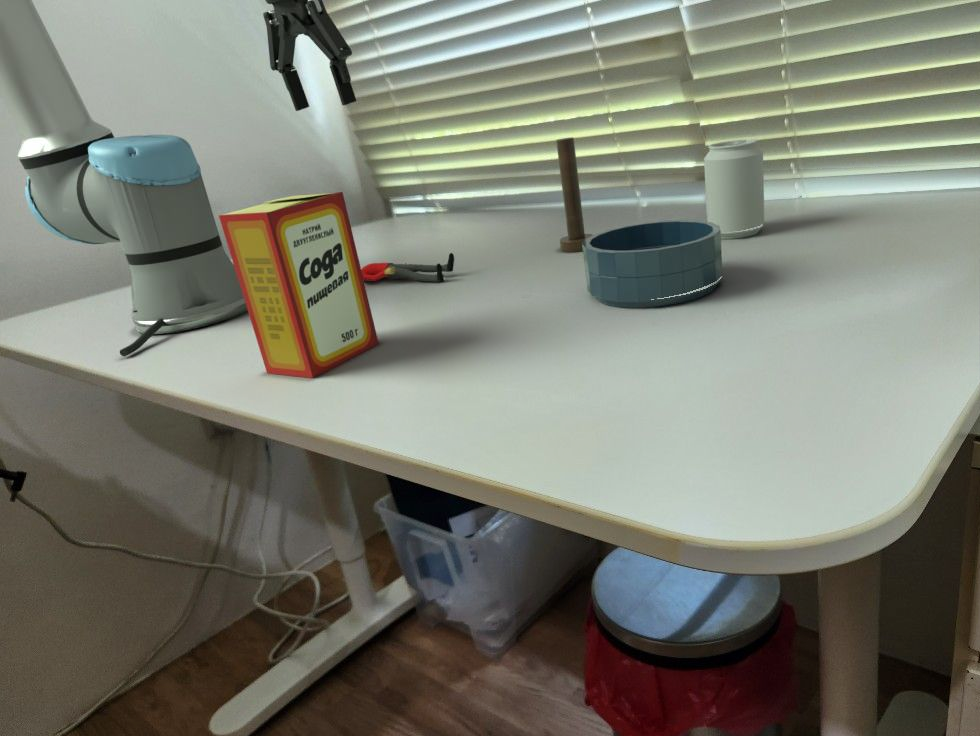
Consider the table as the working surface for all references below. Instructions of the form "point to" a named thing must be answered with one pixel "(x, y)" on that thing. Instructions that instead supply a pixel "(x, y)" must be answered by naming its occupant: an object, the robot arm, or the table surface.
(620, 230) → the bowl
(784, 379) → the table surface
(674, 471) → the table surface
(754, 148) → the can
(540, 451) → the table surface
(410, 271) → the person figure
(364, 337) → the baking soda box
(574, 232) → the muddler
